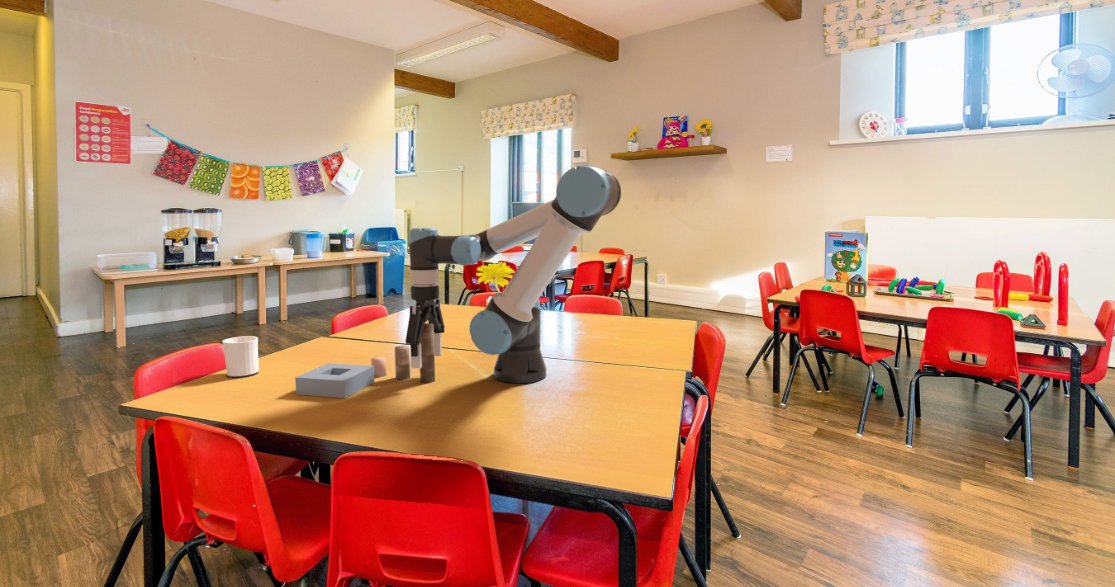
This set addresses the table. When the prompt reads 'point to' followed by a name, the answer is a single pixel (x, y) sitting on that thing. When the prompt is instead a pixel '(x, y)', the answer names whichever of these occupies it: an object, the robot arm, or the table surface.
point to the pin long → (427, 354)
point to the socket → (335, 380)
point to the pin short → (379, 366)
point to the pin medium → (402, 362)
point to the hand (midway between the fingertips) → (427, 361)
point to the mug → (241, 356)
